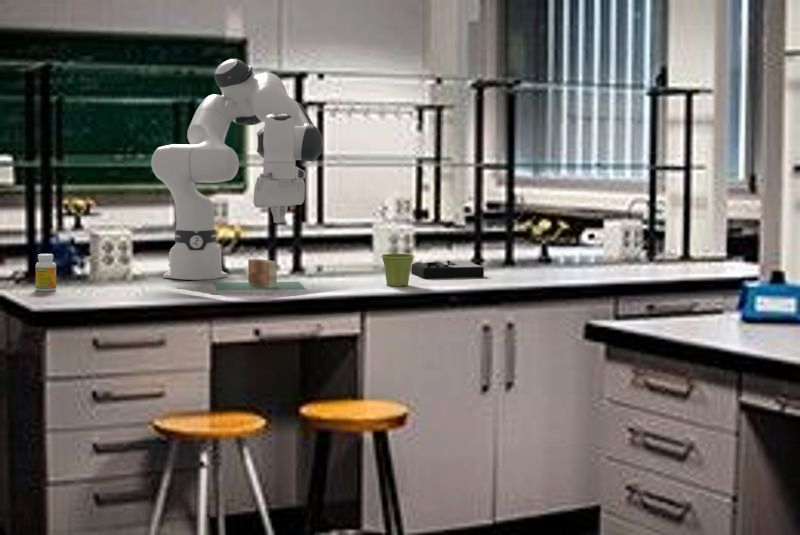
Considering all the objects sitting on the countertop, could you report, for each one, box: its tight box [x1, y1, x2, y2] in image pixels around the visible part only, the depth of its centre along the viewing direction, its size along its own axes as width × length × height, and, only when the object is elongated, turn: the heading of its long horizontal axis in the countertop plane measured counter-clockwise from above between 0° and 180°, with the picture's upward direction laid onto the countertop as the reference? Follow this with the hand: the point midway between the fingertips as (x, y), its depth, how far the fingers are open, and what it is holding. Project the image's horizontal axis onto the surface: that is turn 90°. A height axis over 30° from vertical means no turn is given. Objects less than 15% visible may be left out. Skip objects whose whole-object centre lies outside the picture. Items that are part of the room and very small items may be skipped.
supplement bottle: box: [35, 253, 57, 292], centre depth 351 cm, size 5×5×10 cm
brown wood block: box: [247, 258, 278, 288], centre depth 357 cm, size 9×3×7 cm, turn 46°
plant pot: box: [380, 253, 415, 288], centre depth 370 cm, size 9×9×9 cm
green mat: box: [213, 281, 306, 296], centre depth 357 cm, size 16×24×1 cm, turn 101°
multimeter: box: [410, 260, 485, 280], centre depth 395 cm, size 13×19×5 cm
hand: (279, 222), depth 360 cm, fingers closed
